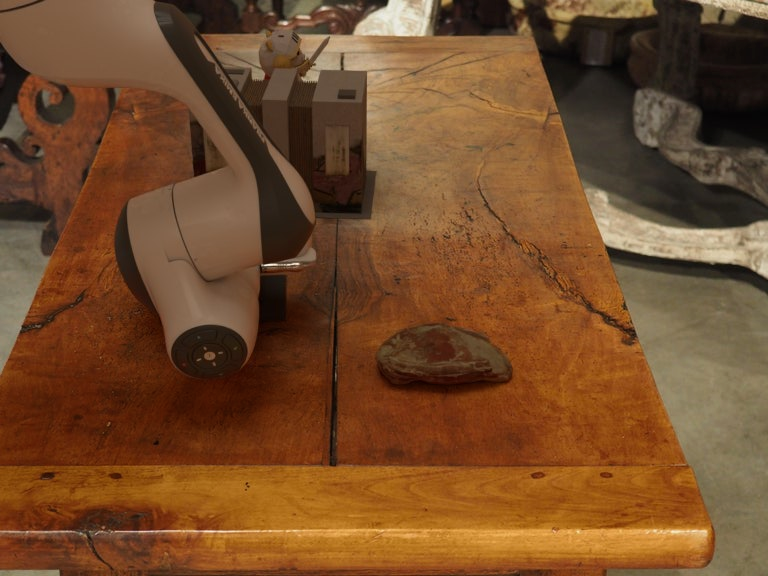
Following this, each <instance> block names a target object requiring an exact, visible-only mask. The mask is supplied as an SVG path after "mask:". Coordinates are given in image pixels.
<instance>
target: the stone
mask: <svg viewBox="0 0 768 576" xmlns="http://www.w3.org/2000/svg"><path fill="white" fill-rule="evenodd" d="M375 362H376V364H377V368H378V370H379V372H381V373H382V374H383V376H384V377H385V378H386V379H388V380H389V381H390V383H391V384H395V385H401V386H402V385H404V384H409V383H412V382H414V381H415V382H416V381H417V382H418V381H422V382H426V383H428V384H433V385H434V384H435V385H451V386H453V385H458V384H464V383H473V382H475V383H476V382H478V381H489V382H495V383H497V382H498V383H501V382H508V381H510V379H511V377H512V375H513V370H514V369H513V365H512V363H511V361H510V359H509V357H508V356H507V355H506V353H505V354H504V353H503V352H502V351H501V349H500V348H498V347H497V346H496V345H494V344H492V343H491V340H490V338H489V337H487V336H486V334H484V333H483V332H480V331H477V330H472V329H469V328H466V327H463V326H462V327H461V326H455V325H450V324H448V323H446V322H440V321H437V322H428V323H427V322H426V323H421V324H416V325H413V326H410V327H405V328H404V329H401V330H400V331H398V332H397V333H395V334H393V335H392V336H390V337H389V338H387V339H386V340H385V341H384V342H382V343H381V345H380V347H379V348H378V349H377V351H376V353H375Z"/></svg>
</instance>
